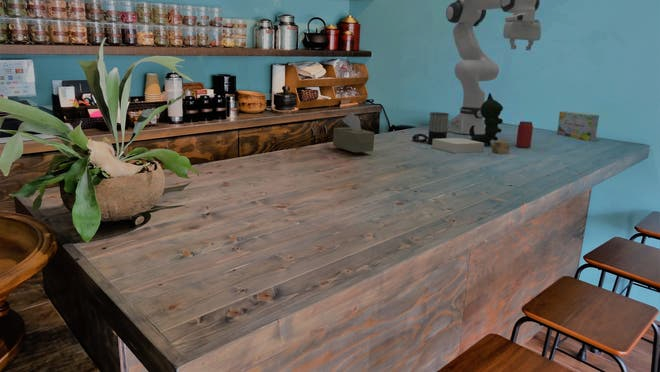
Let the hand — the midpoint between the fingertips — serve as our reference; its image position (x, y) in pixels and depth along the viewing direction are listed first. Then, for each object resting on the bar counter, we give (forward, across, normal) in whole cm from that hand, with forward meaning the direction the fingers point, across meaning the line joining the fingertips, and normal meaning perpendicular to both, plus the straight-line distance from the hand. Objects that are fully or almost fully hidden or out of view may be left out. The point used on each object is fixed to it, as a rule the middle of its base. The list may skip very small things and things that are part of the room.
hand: (520, 49), depth 233 cm
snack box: (+45, -57, -10) cm, 73 cm away
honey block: (+46, +20, +13) cm, 51 cm away
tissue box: (+45, +79, -14) cm, 92 cm away
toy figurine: (+45, +9, -9) cm, 47 cm away
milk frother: (+45, +33, -20) cm, 59 cm away
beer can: (+45, -7, +1) cm, 46 cm away
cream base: (+45, +33, +1) cm, 56 cm away
